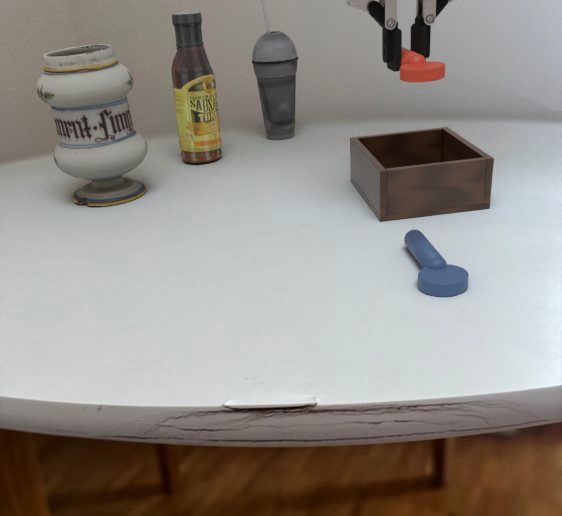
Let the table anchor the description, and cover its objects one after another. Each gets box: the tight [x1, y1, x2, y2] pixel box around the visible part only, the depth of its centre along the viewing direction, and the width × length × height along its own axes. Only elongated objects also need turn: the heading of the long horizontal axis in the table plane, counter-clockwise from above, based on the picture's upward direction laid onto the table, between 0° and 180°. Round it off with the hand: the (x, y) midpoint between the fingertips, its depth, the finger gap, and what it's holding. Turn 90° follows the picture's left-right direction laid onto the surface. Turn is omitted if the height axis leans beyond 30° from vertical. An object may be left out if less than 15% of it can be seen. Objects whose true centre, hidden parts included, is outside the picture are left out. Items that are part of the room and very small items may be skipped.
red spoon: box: [399, 46, 446, 83], centre depth 72 cm, size 12×4×2 cm, turn 8°
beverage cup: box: [251, 0, 299, 141], centre depth 108 cm, size 7×7×20 cm
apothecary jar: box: [36, 43, 149, 207], centre depth 89 cm, size 12×12×18 cm
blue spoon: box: [403, 229, 470, 298], centre depth 65 cm, size 12×4×2 cm, turn 7°
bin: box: [349, 126, 495, 222], centre depth 83 cm, size 13×16×6 cm
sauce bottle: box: [170, 11, 222, 164], centre depth 100 cm, size 7×6×20 cm
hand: (405, 66), depth 73 cm, fingers closed on red spoon, 2 cm apart
